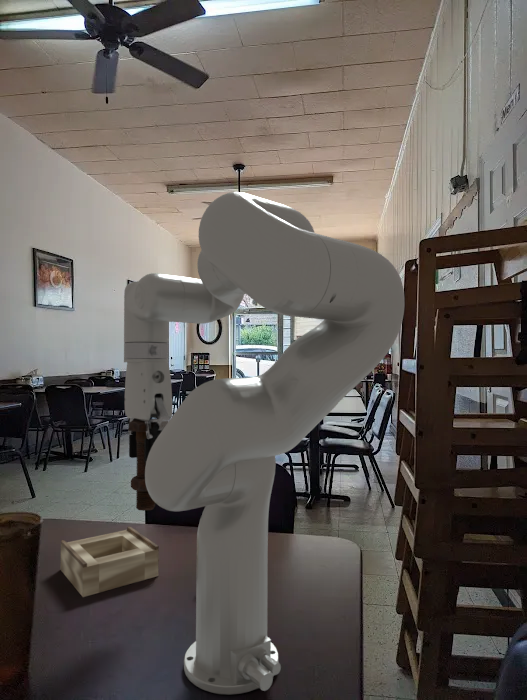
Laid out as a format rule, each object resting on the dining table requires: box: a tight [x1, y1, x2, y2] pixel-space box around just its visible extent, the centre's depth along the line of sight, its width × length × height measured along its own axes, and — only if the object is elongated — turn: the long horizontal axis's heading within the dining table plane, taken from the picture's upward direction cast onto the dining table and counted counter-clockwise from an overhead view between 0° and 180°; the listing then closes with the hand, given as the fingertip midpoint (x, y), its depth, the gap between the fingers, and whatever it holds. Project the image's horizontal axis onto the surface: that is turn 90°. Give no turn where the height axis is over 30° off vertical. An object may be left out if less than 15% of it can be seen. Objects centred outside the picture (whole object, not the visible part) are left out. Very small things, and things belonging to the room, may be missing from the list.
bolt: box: [128, 420, 156, 512], centre depth 83 cm, size 6×5×15 cm
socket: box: [60, 526, 160, 598], centre depth 94 cm, size 14×14×6 cm
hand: (145, 458), depth 83 cm, fingers closed on bolt, 5 cm apart
